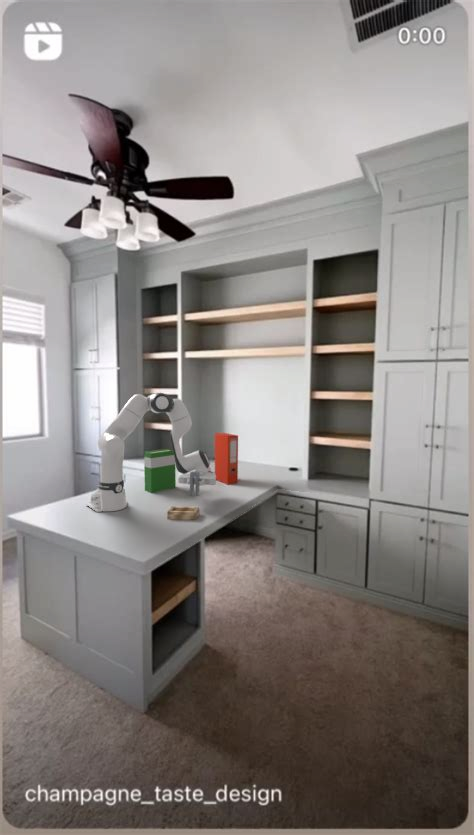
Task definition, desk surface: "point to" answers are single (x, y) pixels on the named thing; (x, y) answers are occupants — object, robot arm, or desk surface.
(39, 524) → the desk surface
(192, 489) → the clip
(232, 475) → the file binder
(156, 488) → the green box
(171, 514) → the wooden tray
